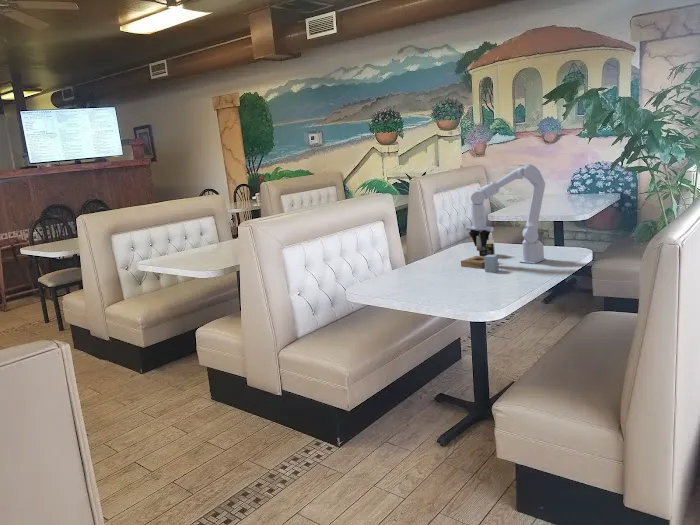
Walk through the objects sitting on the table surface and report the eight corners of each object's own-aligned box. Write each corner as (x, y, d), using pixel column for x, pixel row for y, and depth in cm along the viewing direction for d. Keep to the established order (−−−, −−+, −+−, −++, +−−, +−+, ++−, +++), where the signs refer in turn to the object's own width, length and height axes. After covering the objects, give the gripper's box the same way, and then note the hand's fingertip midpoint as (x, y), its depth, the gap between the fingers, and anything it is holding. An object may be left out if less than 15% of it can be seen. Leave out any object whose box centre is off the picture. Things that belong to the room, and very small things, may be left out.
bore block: (476, 260, 273) (476, 255, 272) (497, 262, 263) (497, 257, 263) (461, 266, 265) (460, 261, 265) (481, 268, 256) (481, 263, 256)
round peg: (479, 249, 264) (478, 234, 263) (486, 249, 261) (485, 234, 260) (475, 250, 262) (474, 235, 260) (481, 251, 259) (480, 236, 258)
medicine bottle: (479, 257, 279) (477, 234, 276) (480, 254, 285) (478, 231, 283) (494, 257, 276) (492, 233, 274) (495, 254, 283) (493, 230, 281)
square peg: (489, 269, 253) (487, 254, 251) (498, 270, 250) (497, 254, 249) (485, 272, 249) (484, 256, 248) (494, 272, 246) (493, 256, 245)
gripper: (460, 218, 262) (462, 246, 264) (486, 219, 251) (488, 248, 253) (470, 215, 266) (472, 244, 269) (495, 216, 255) (497, 245, 258)
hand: (480, 246), depth 261 cm, fingers closed on round peg, 4 cm apart
